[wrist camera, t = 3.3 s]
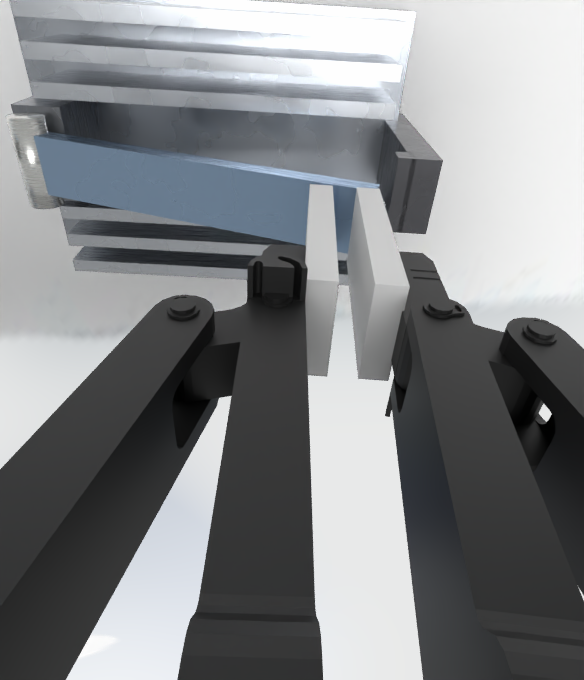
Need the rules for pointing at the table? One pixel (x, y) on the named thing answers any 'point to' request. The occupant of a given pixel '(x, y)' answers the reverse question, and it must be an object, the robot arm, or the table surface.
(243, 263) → the heatsink
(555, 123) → the table surface
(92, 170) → the blue long flat bar
